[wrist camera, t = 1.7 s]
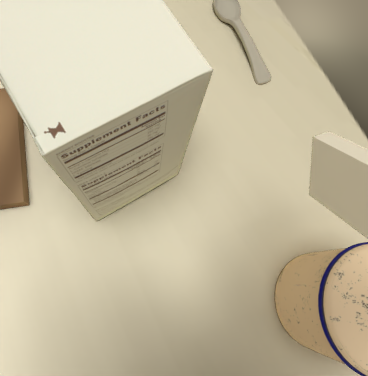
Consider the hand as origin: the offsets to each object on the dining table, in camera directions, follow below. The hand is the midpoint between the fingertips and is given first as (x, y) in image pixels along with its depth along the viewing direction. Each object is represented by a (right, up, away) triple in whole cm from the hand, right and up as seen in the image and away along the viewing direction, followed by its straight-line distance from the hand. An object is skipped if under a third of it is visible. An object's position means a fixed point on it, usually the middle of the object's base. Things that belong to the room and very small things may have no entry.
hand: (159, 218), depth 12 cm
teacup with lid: (+15, -9, +19) cm, 26 cm away
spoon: (+7, +18, +26) cm, 32 cm away
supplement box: (-6, +4, +20) cm, 21 cm away
